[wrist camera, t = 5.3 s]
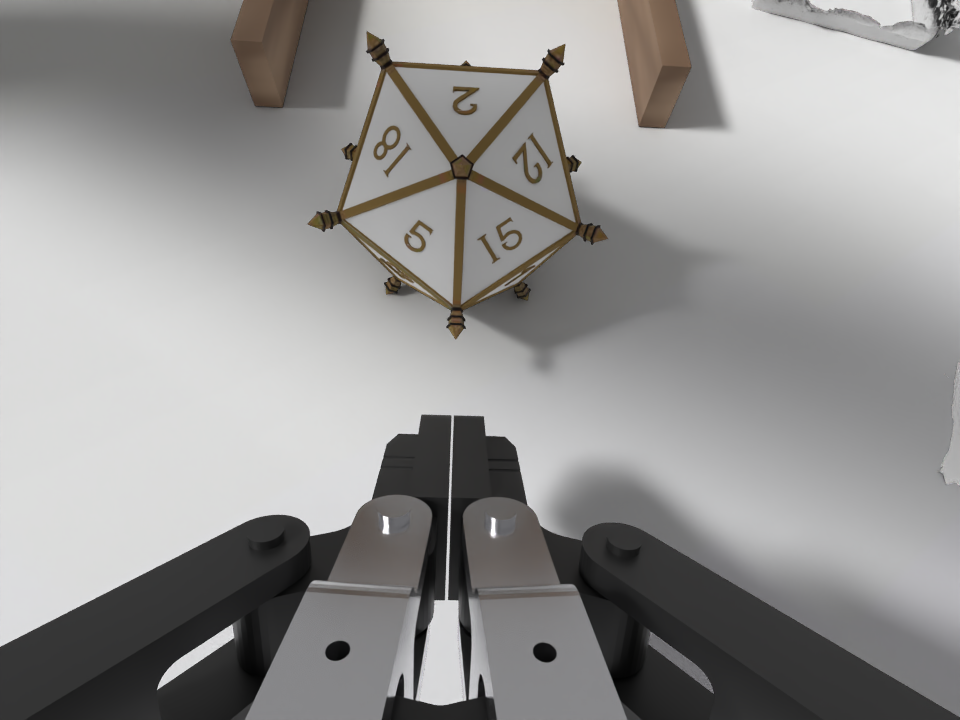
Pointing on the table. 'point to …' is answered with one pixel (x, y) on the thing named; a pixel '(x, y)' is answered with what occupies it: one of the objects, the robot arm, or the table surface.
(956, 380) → the terrain model
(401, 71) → the game die
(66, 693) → the robot arm
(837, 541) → the table surface
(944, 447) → the table surface
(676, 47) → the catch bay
